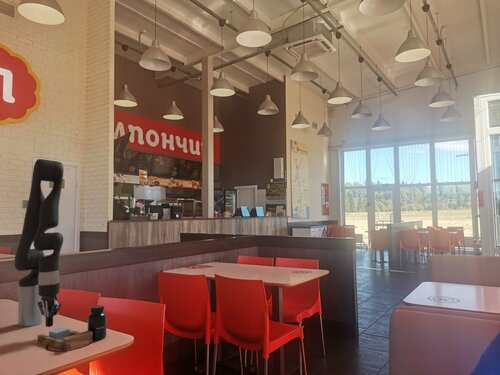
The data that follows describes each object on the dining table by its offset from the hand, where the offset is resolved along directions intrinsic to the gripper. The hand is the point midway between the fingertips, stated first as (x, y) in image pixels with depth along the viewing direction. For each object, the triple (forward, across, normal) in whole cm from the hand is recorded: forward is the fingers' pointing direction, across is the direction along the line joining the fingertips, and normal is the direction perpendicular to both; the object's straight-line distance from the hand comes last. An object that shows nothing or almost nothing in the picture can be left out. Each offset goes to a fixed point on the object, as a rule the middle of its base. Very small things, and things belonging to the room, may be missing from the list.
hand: (49, 326), depth 147 cm
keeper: (+4, +8, -1) cm, 9 cm away
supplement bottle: (+5, +19, +8) cm, 21 cm away
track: (+4, +12, -1) cm, 12 cm away
